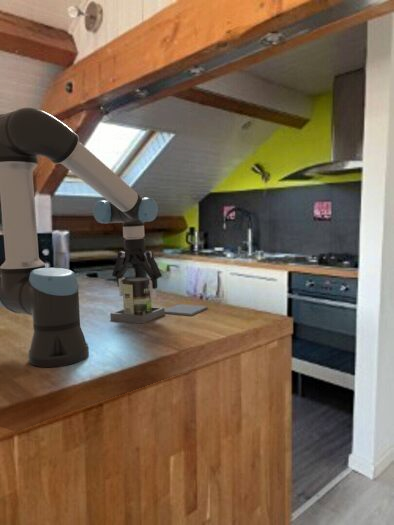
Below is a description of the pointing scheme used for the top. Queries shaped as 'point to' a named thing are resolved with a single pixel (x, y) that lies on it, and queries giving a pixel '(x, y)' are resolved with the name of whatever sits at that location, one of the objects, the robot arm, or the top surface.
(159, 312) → the collar
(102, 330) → the top surface
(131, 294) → the coffee can
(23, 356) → the top surface
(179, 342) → the top surface
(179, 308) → the slate mat
